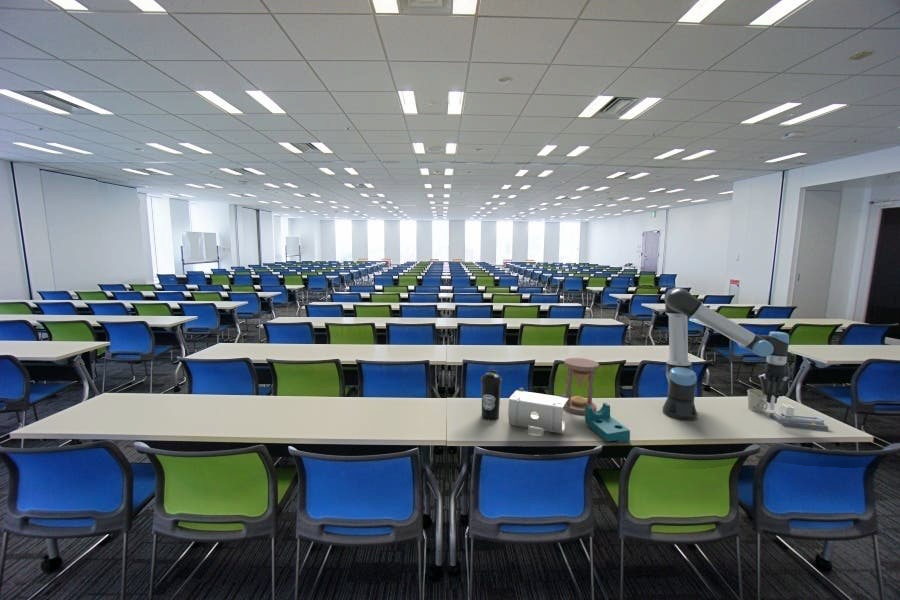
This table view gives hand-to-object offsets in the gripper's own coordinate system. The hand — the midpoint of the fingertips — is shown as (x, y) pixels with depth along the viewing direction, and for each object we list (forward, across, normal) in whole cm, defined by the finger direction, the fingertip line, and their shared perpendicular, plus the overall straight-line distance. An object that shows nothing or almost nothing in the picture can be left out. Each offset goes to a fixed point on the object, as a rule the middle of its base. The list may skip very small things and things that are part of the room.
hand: (770, 408), depth 187 cm
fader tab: (+4, +7, 0) cm, 8 cm away
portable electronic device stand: (+6, -113, -40) cm, 120 cm away
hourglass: (+6, -92, -11) cm, 93 cm away
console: (+6, +12, 0) cm, 13 cm away
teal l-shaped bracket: (+6, -82, -38) cm, 91 cm away
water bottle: (+6, -136, -36) cm, 141 cm away
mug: (+6, +1, +12) cm, 14 cm away
